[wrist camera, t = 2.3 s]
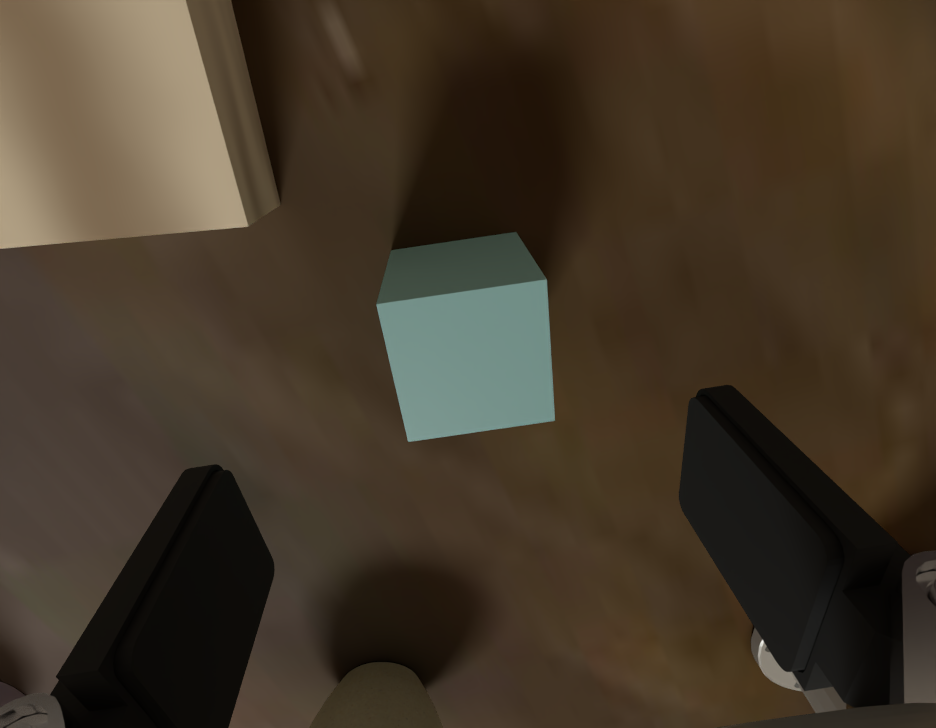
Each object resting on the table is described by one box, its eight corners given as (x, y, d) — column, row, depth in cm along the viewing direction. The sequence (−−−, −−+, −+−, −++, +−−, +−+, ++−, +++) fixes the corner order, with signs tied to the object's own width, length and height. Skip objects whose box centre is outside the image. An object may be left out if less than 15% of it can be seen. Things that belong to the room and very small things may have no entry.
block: (516, 231, 20) (546, 279, 14) (525, 344, 22) (554, 420, 17) (391, 249, 20) (376, 304, 14) (413, 360, 22) (408, 441, 17)
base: (217, -68, 15) (152, -120, 12) (282, 203, 19) (248, 226, 15) (-51, -48, 15) (-199, -94, 11) (69, 222, 19) (-15, 249, 15)
